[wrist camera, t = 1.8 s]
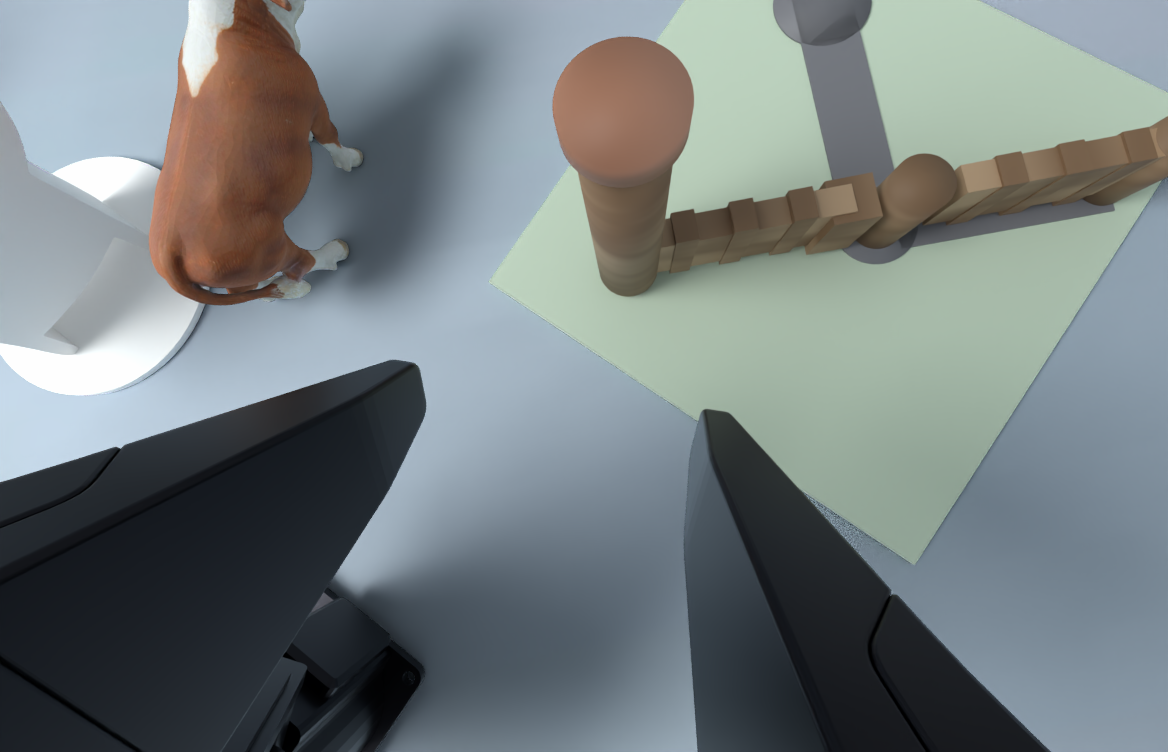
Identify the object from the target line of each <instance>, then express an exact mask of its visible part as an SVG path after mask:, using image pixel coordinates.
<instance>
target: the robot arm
mask: <svg viewBox="0 0 1168 752" xmlns="http://www.w3.org/2000/svg"><path fill="white" fill-rule="evenodd" d="M425 412H426V399H425V393H424V388H423V383H422V378H421V373H420V369H419V367H418V366H417V365H416V364H415V363H412V362H406V361H400V360H389V361H386V362H383V363H380V364H376V365H373V366H370V367H367V368H364V369H361V370H358V371H355V372H351V373H348V374H345V375H342V376H339V377H336V378H333V379H329V380H326V381H323V382H320V383H317V384H314V385H311V386H308V387H304V388H301V389H298V390H295V391H292V392H289V393H286V394H283V395H279V396H276V397H273V398H270V399H267V400H264V401H261V402H258V403H254V404H251V405H248V406H245V407H242V408H239V409H236V410H232V411H229V412H226V413H223V414H220V415H217V416H214V417H211V418H207V419H204V420H201V421H198V422H195V423H192V424H189V425H186V426H182V427H179V428H176V429H173V430H170V431H167V432H164V433H160V434H157V435H154V436H151V437H148V438H145V439H142V440H139V441H135V442H132V443H129V444H126V445H124V446H123V447H122V448H121V449H120V448H118V447H113V448H110V449H107V450H104V451H101V452H98V453H94V454H91V455H88V456H85V457H82V458H79V459H76V460H72V461H69V462H66V463H63V464H59V465H56V466H53V467H49V468H46V469H43V470H40V471H36V472H33V473H30V474H27V475H23V476H20V477H17V478H14V479H10V480H7V481H3V482H0V752H375V751H376V750H377V748H378V747H379V745H380V744H381V742H382V741H383V739H384V738H385V736H386V735H387V733H388V732H389V730H390V729H391V727H392V726H393V725H394V723H395V722H396V720H397V719H398V717H399V716H400V714H401V713H402V711H403V710H404V708H405V707H406V705H407V704H408V702H409V701H410V699H411V698H412V697H413V695H414V694H415V692H416V691H417V689H418V688H419V686H420V685H421V683H422V682H423V680H424V677H425V671H424V668H423V666H422V665H421V664H420V663H419V662H418V661H417V660H416V659H414V658H413V657H412V656H411V655H409V654H408V653H407V652H406V651H405V650H403V649H402V648H401V647H400V646H398V645H397V644H396V643H395V642H393V641H392V640H391V639H390V636H389V633H387V632H386V631H385V630H384V629H383V628H381V627H380V626H379V625H378V624H376V623H375V622H374V621H373V620H371V619H370V618H369V617H368V616H367V615H365V614H364V613H363V612H362V611H360V610H359V609H358V608H357V607H355V606H354V605H353V604H352V603H351V602H349V601H348V600H347V599H345V598H339V597H338V596H337V595H336V594H334V593H333V592H332V591H331V590H329V589H328V588H327V586H328V585H329V583H330V582H331V580H332V579H333V577H334V575H335V574H336V572H337V571H338V569H339V568H340V566H341V565H342V563H343V561H344V560H345V558H346V557H347V555H348V554H349V552H350V550H351V549H352V547H353V546H354V544H355V543H356V541H357V540H358V538H359V536H360V535H361V533H362V532H363V530H364V529H365V527H366V526H367V524H368V522H369V521H370V519H371V518H372V516H373V515H374V513H375V512H376V510H377V508H378V507H379V505H380V504H381V502H382V501H383V499H384V497H385V496H386V494H387V492H388V491H389V489H390V487H391V485H392V483H393V481H394V479H395V477H396V475H397V473H398V471H399V469H400V467H401V465H402V463H403V461H404V459H405V457H406V455H407V452H408V450H409V448H410V446H411V444H412V442H413V440H414V438H415V436H416V434H417V432H418V430H419V428H420V426H421V423H422V421H423V419H424V416H425ZM684 561H685V575H686V590H687V604H688V619H689V633H690V647H691V662H692V676H693V691H694V705H695V720H696V734H697V749H698V752H1051V751H1050V750H1049V749H1047V748H1046V747H1045V746H1044V745H1043V744H1042V743H1041V742H1040V741H1039V740H1038V739H1037V738H1036V737H1035V736H1034V735H1033V734H1032V733H1031V732H1030V731H1029V730H1028V729H1027V728H1026V727H1025V726H1024V725H1023V724H1022V723H1021V722H1020V721H1019V720H1018V719H1017V718H1016V717H1015V716H1014V715H1013V714H1012V713H1011V712H1010V711H1009V710H1008V709H1007V708H1005V707H1004V706H1003V705H1002V704H1001V703H1000V702H999V701H998V700H997V699H996V698H995V697H994V696H993V695H992V694H991V693H990V692H989V691H988V690H987V689H986V688H985V687H984V686H983V685H982V684H981V683H980V682H979V681H978V680H977V679H976V678H975V677H974V676H973V675H972V674H971V673H970V672H969V671H968V670H967V669H966V668H965V667H964V666H963V665H962V663H961V662H960V661H959V660H958V659H957V658H956V657H955V656H954V655H953V654H952V653H951V652H950V651H949V650H948V649H947V648H946V647H945V646H944V645H943V643H942V642H941V641H940V640H939V639H938V638H937V637H936V636H935V635H934V634H933V633H932V632H931V631H930V630H929V629H928V628H927V627H926V626H925V625H924V623H923V622H922V621H921V620H920V619H919V618H918V617H917V616H916V615H915V614H914V613H913V611H912V610H911V609H910V608H909V607H908V606H907V605H906V604H905V603H904V602H903V600H902V599H901V598H900V597H899V596H898V595H891V589H890V588H889V587H888V586H887V585H886V583H885V582H884V581H883V580H882V579H881V578H880V577H879V576H878V575H877V574H876V573H875V571H874V570H873V569H872V568H871V567H870V566H869V565H868V564H867V563H866V562H865V560H864V559H863V558H862V557H861V556H860V555H859V554H858V553H857V552H856V551H855V549H854V548H853V547H852V546H851V545H850V544H849V543H848V542H847V541H846V540H845V538H844V537H843V536H842V535H841V534H840V533H839V532H838V531H837V530H836V529H835V528H834V526H833V525H832V524H831V523H830V522H829V521H828V520H827V519H826V518H825V517H824V515H823V514H822V513H821V512H820V511H819V510H818V509H817V508H816V507H815V506H814V504H813V503H812V502H811V501H810V500H809V499H808V498H807V497H806V496H805V495H804V493H803V492H802V491H801V490H800V489H799V488H798V487H797V486H796V485H795V484H794V483H793V481H792V480H791V479H790V478H789V477H788V476H787V475H786V474H785V473H784V472H783V470H782V469H781V468H780V467H779V466H778V465H777V464H776V463H775V462H774V461H773V459H772V458H771V457H770V456H769V455H768V454H767V453H766V452H765V451H764V450H763V448H762V447H761V446H760V445H759V444H758V443H757V442H756V441H755V440H754V439H753V438H752V436H751V435H750V434H749V433H748V432H747V431H746V430H745V429H744V428H743V427H742V425H741V424H740V423H739V422H738V421H737V420H736V419H735V418H734V417H733V416H732V415H731V414H730V413H729V412H724V411H718V410H712V409H704V410H702V412H701V413H700V416H699V420H698V424H697V428H696V432H695V436H694V440H693V444H692V448H691V453H690V460H689V472H688V486H687V500H686V514H685V528H684ZM890 595H891V596H890ZM408 671H410V672H412V673H413V674H414V676H415V680H413V681H412V680H410V679H409V678H408V677H407V672H408Z"/></svg>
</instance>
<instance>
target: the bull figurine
mask: <svg viewBox="0 0 1168 752" xmlns="http://www.w3.org/2000/svg"><path fill="white" fill-rule="evenodd" d="M305 1H306V0H189V21H188V26H187V30H186V34H185V37H184V40H183V43H182V46H181V49H180V53H179V58H178V89H177V94H176V99H175V104H174V109H173V114H172V119H171V124H170V129H169V134H168V140H167V147H166V154H165V159H164V164H163V167H162V170H161V173H160V175H159V178H158V181H157V185H156V189H155V196H154V204H153V212H152V219H151V225H150V231H149V250H150V255H151V259H152V263H153V265H154V267H155V269H156V271H157V272H158V274H159V275H160V276H161V277H163V278H164V279H165V280H166V281H167V283H168V284H169V285H170V287H171V288H172V289H174V290H175V291H176V292H177V293H179V294H181V295H182V296H184V297H186V298H189V299H191V300H194V301H196V302H199V303H202V304H209V305H233V304H238V303H243V302H247V301H250V300H254V299H261V300H263V301H266V302H272V301H274V300H275V299H276V298H280V299H294V298H302V297H304V296H305V295H306V294H307V293H309V292H310V289H311V285H310V284H309V283H308V282H306V281H305V280H303V279H302V278H303V276H304V275H305V274H307V273H309V272H311V271H314V270H321V269H322V270H337V264H336V263H337V262H338V261H341V260H345V259H346V258H347V256H348V254H349V248H348V245H347V244H346V242H344V241H342V240H340V239H335V240H333V241H331V242H329V243H327V244H325V245H324V246H323V247H322V248H320V249H318V250H315V251H311V250H305V249H302V248H299V247H298V246H297V245H295V244H294V243H293V242H292V241H291V239H290V238H289V237H288V236H287V234H286V233H285V231H284V224H283V220H284V219H285V217H286V216H287V215H289V214H290V213H291V212H292V211H293V210H294V209H295V208H296V206H297V205H298V204H299V203H300V201H301V200H302V199H303V197H304V195H305V193H306V190H307V187H308V185H309V182H310V179H311V174H312V154H311V149H310V145H309V141H312V139H313V136H314V138H315V139H316V140H317V142H318V143H320V144H321V145H322V146H324V147H325V148H326V149H327V150H328V151H329V153H330V154H331V156H332V159H333V163H334V165H335V166H336V167H339V168H343V169H344V170H345V171H348V172H350V171H351V167H353V166H354V167H358V166H360V165H361V163H362V161H363V154H362V153H361V151H359V150H358V149H356V148H346V147H344V146H342V145H341V144H340V143H339V140H338V133H337V129H336V127H335V126H334V125H333V123H332V122H331V121H330V119H329V113H328V109H327V106H326V103H325V101H324V99H323V97H322V96H321V94H320V92H319V88H318V84H317V80H316V78H315V76H314V74H313V72H312V70H311V68H310V67H309V65H308V64H307V62H306V61H305V60H304V59H303V58H302V57H301V56H300V55H299V51H300V40H299V38H298V36H297V33H296V30H295V24H296V22H297V20H298V18H299V17H300V15H301V14H302V12H303V9H304V2H305ZM279 271H281V272H283V273H282V274H283V276H281V277H277V276H276V277H272V276H273V275H274V274H275V273H277V272H279ZM270 277H272V278H271V279H269V280H266V279H268V278H270ZM202 287H213V288H226V289H227V291H228V294H216V293H212V292H210V291H209V290H206V289H203V288H202Z"/></svg>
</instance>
